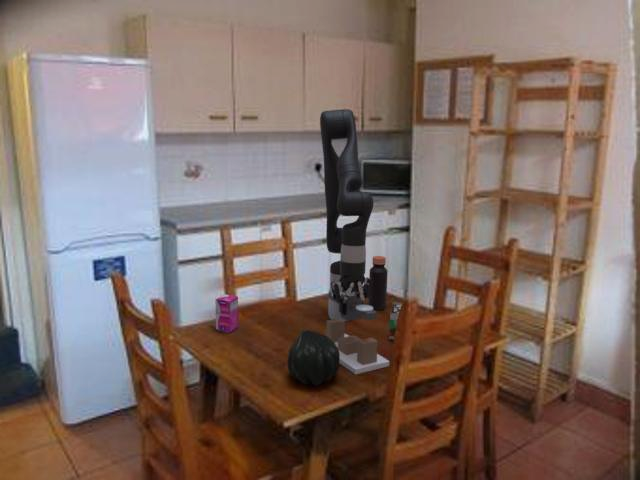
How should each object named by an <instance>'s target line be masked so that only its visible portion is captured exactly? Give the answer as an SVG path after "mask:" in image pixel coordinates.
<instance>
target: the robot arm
mask: <svg viewBox="0 0 640 480" xmlns="http://www.w3.org/2000/svg"><path fill="white" fill-rule="evenodd" d="M355 118H356V117H355V114H354V112H353V110H351V109H348V108H344V109H343V108H341V109H332V110H331V109H330V110H324V111H322V112H321V113H320V119H319V126H320V127H319V129H320V136H321V145H322V146H321V147H322V153H323V154H322V155H323V178H324V180H323V181H324V194H325V207H326V209H325V211H326V229H325V230H326V239H325V240H326V241H325V242H326V248H327V251H328V252H329V253H332V254H338V255H339V254H340V256H339V257H340V259H339V260H337V261H333V262H332V263H331V264H330V267H329V272H330V273H329V290H328V293H329V292H332V293H333V298H334V300H335V301H337V302H339V304H338V303H336V302H334V301H332V300H331V299H329V298H328V303H327V304H328V305H327V306H328V307H327V315H328V319H329V320H334V319H339V318H340V319H342V320H343V321H345V322H350V321H351V320H349V321H347V320H345V319H344V318H342V317H340V316H341V314H342V315H346V301H347V298H348V297H350V296H357V297H359V298H360V299H362V305H364V301H365V300H366V299H369V295H370V291H371V287H372V283H373V280H372V279H371V278H369V276H367V277H366V276H365V274H366V265H367V264H366V263H367V260H366V259H367V258H366V257H367V248H366V246H367V245H366V241H367V240H366V239H367V229H368V224H369V221H370V217H371V215H372V211H373V208H374V198H373V196H372V194H371V193H369V191H368V192H367V191H358V190H360V189H361V188H362V186H363V177H362V172H361V168H360V161H359V149H358V148H359V147H358V145H359V144H358V135H357V124H356V119H355ZM343 139H344V140H345V139H347V140H346V144H345V146H344V148H343V150H342V152H341V154H340V155H338V154H337V152H336V150H335V148H334V146H333V142H332V141H333V140H343ZM340 216H342V217H357V218H356V220H355V221H353V222H349V223H345V224H344V225H342V227H338V220H339V219H340V218H339V217H340Z"/></svg>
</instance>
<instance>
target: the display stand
mask: <svg viewBox="0 0 640 480" xmlns="http://www.w3.org/2000/svg"><path fill="white" fill-rule="evenodd" d="M325 322H326V327H325V328H326V329H325V335H326V336H327V337H329V338H330V339H332V340H333V342H334V343H335V344H336V346H337V348H338V350H339V353H340V359H339V365H342V366H343V367H344V368H346V370H348V371H350V372H351V373H352V374H354V375H359V374H362V373H366V372H371V371H375V370H378V369H382V368H388V367H390V360H388V359H387V358H385V357H384V356H382V355H380V354H379V353H378V346H379V345H378V340H377V339H376V338H373V337H368V338H363V339H361V338H360V337H358V336H357V335H354V334H353V335H348V334H347V333H345V327H346V326H345V325H346V324H345V322H346V321H343V320H342V319H340V318H339V319H334V320H332V319H329V320H328V319H327V320H326V321H325Z"/></svg>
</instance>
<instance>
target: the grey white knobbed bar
mask: <svg viewBox="0 0 640 480" xmlns="http://www.w3.org/2000/svg"><path fill="white" fill-rule="evenodd" d="M328 299H331V300H332V301H334V302H336V303H338V304H339V302H337V301H335V300H334V298H333V293H332V292H329V291H328ZM377 314H378V312H377V311H376V310H373V307H372V306H370V305H368V304H363V305H362V299H360V298H359V297H357V296H356V295H355V296H350V297H348V298H347V301H346V315H342V314H341V316H340V317H342V318H344V319H345V320H347V321H346V322H350V321H354V320H359V319H365V320H366V321H372V320H377V317H378V316H377ZM349 320H350V321H349Z"/></svg>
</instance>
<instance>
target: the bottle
mask: <svg viewBox="0 0 640 480" xmlns="http://www.w3.org/2000/svg"><path fill="white" fill-rule="evenodd" d="M386 259H387V257H385V256H383V255H382V256H381V255H375V256H373V257H372V267H370V269H369V276H368V278H371V279H372V280H373V283H372V287H371V291H370V295H369V298H367V299H368V301H367V305H370V306H372V307H373V310H374V311H383V309H384V310H385V309H386V308H387V291H388V269H387V268H386V267H385V266H386V263H387V262H386Z"/></svg>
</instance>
